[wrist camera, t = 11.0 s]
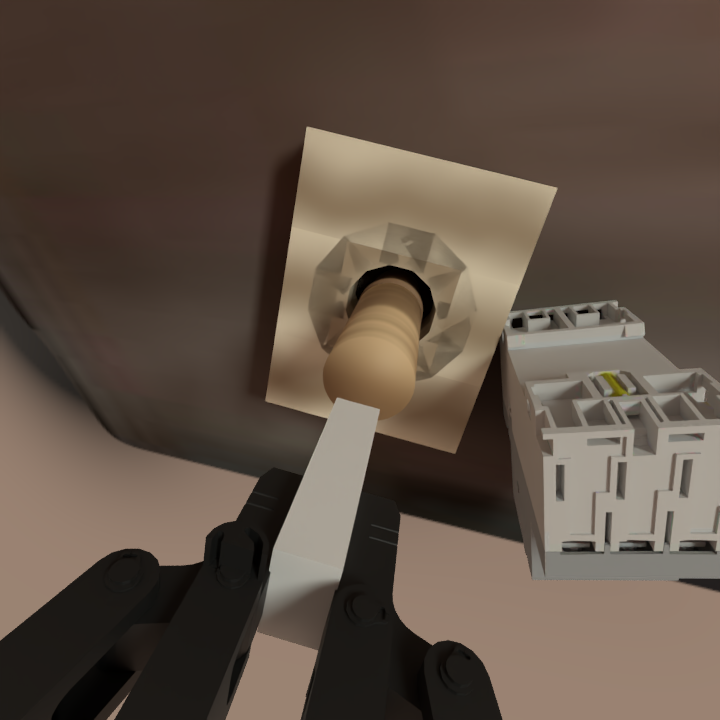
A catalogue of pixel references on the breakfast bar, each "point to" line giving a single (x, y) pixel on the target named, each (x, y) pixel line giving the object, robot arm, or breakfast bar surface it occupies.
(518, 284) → the board
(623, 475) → the circuit breaker
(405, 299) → the peg
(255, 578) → the robot arm
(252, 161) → the breakfast bar surface
